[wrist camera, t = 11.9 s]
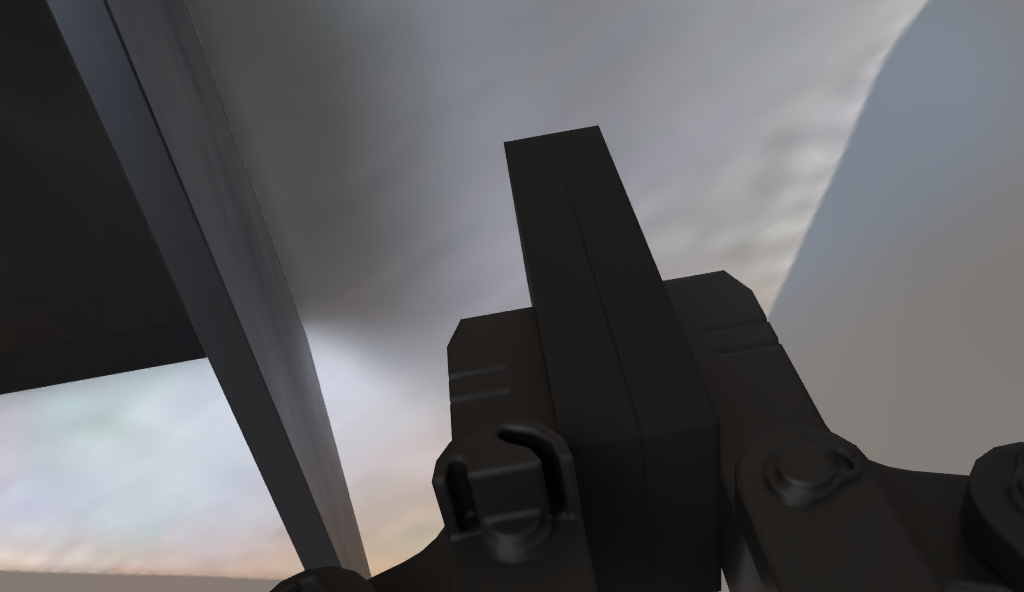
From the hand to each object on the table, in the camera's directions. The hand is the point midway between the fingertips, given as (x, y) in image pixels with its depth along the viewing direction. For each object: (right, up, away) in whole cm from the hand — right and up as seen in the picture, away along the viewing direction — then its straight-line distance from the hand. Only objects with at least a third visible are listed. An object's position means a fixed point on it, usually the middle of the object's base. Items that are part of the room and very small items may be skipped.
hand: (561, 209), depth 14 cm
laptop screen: (-10, +3, +11) cm, 15 cm away
